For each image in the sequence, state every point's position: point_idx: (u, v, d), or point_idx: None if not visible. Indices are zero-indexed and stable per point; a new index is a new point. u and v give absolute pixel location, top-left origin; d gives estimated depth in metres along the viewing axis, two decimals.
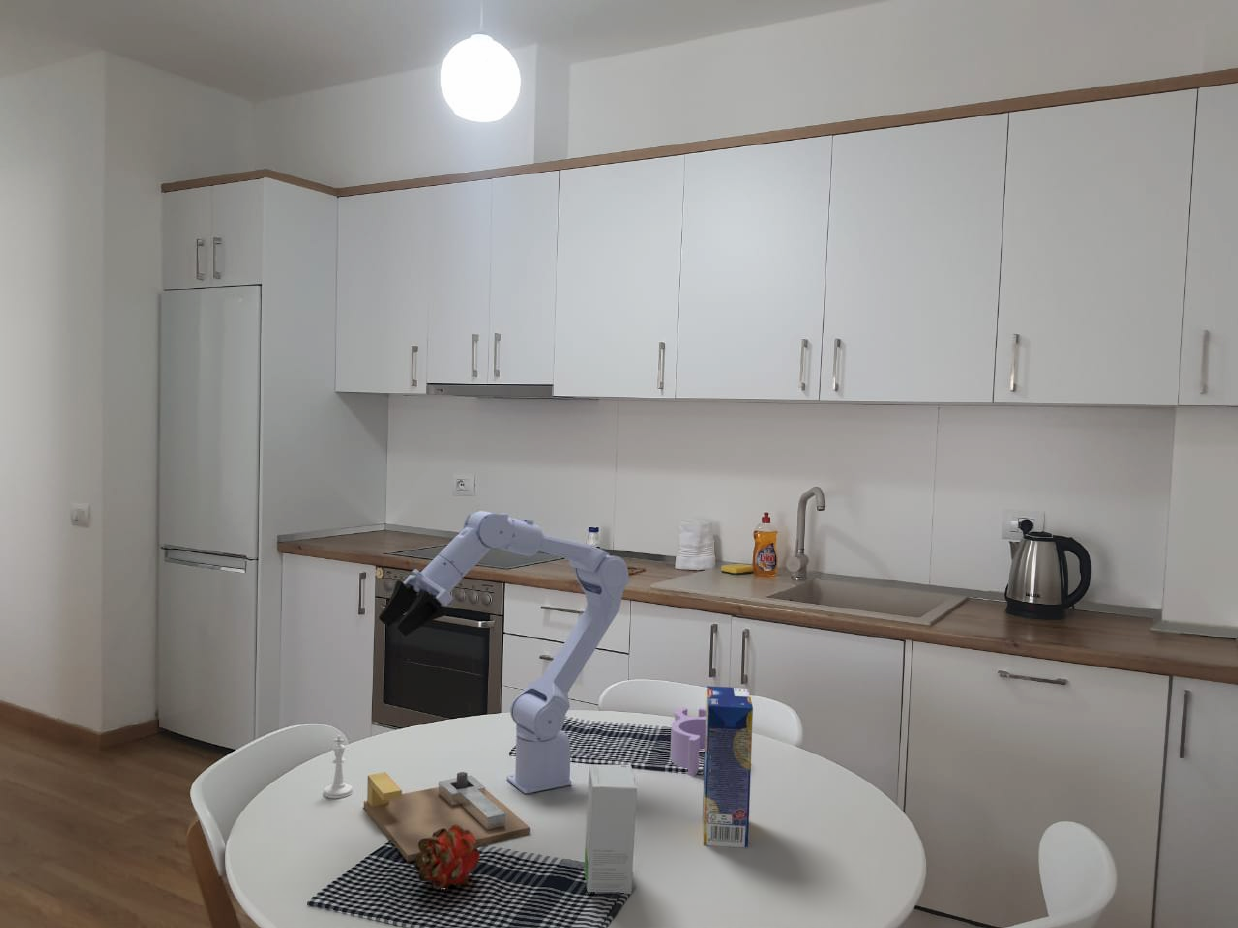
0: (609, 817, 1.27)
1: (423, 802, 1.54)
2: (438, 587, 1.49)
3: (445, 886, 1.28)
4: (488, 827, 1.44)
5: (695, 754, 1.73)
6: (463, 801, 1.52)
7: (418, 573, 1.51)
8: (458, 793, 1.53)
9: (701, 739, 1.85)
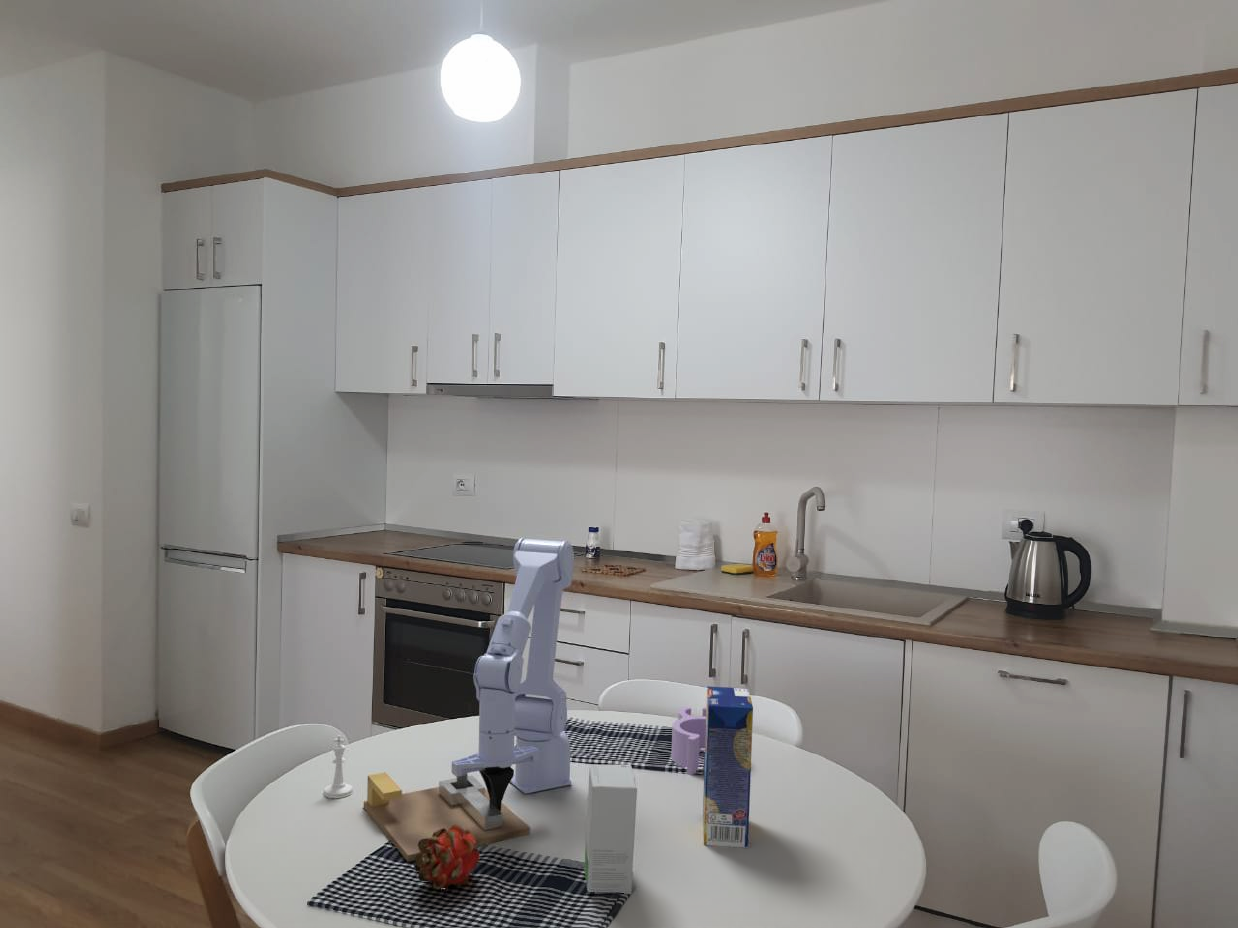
0: (609, 817, 1.27)
1: (423, 802, 1.54)
2: (529, 753, 1.51)
3: (445, 886, 1.28)
4: (485, 827, 1.44)
5: (694, 753, 1.73)
6: (462, 801, 1.52)
7: (511, 763, 1.46)
8: (457, 793, 1.53)
9: (703, 738, 1.85)
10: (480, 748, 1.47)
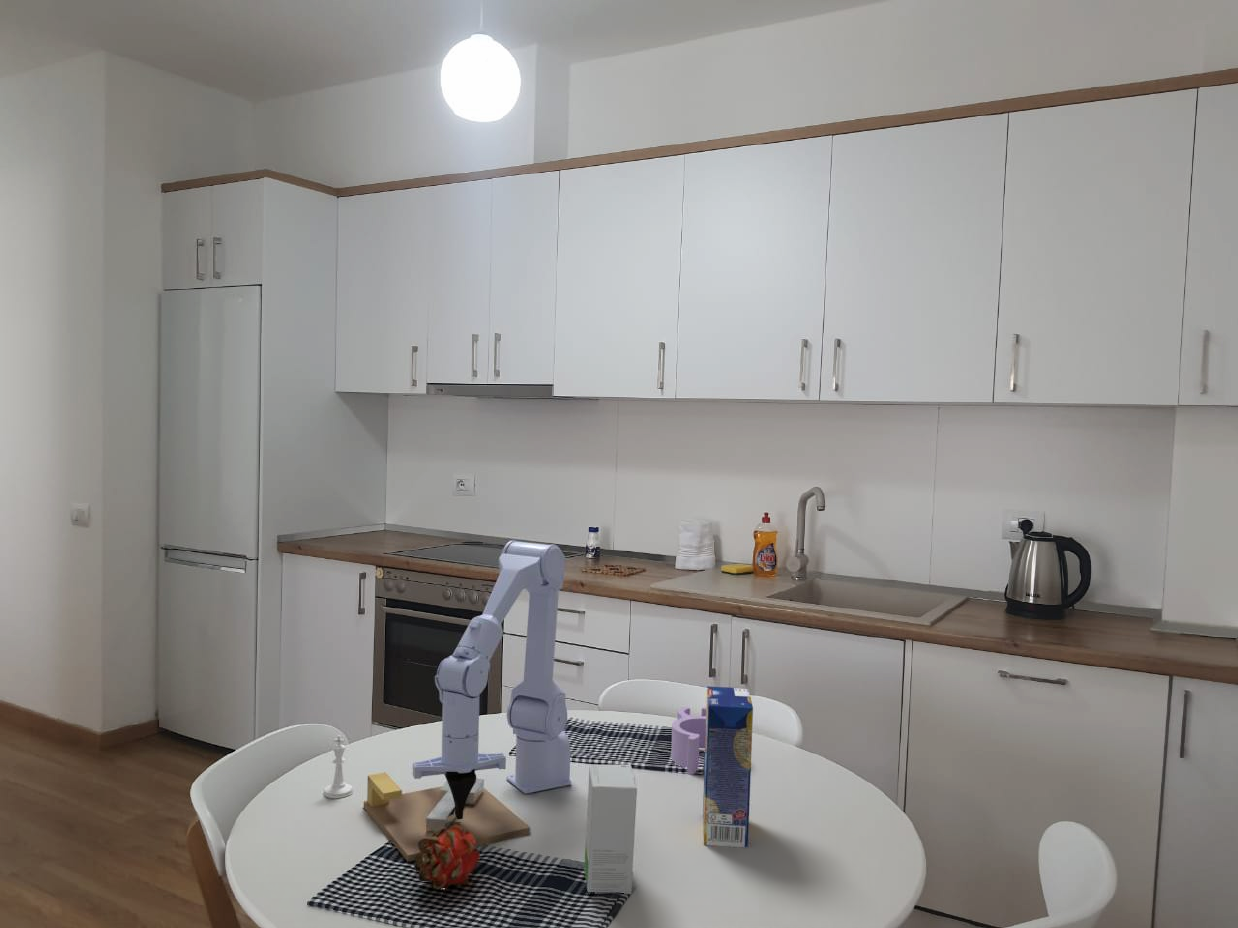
0: (608, 817, 1.27)
1: (423, 802, 1.54)
2: (494, 760, 1.47)
3: (445, 886, 1.28)
4: (427, 828, 1.43)
5: (694, 753, 1.73)
6: None
7: (471, 769, 1.44)
8: (446, 791, 1.54)
9: (703, 738, 1.85)
10: (442, 751, 1.45)
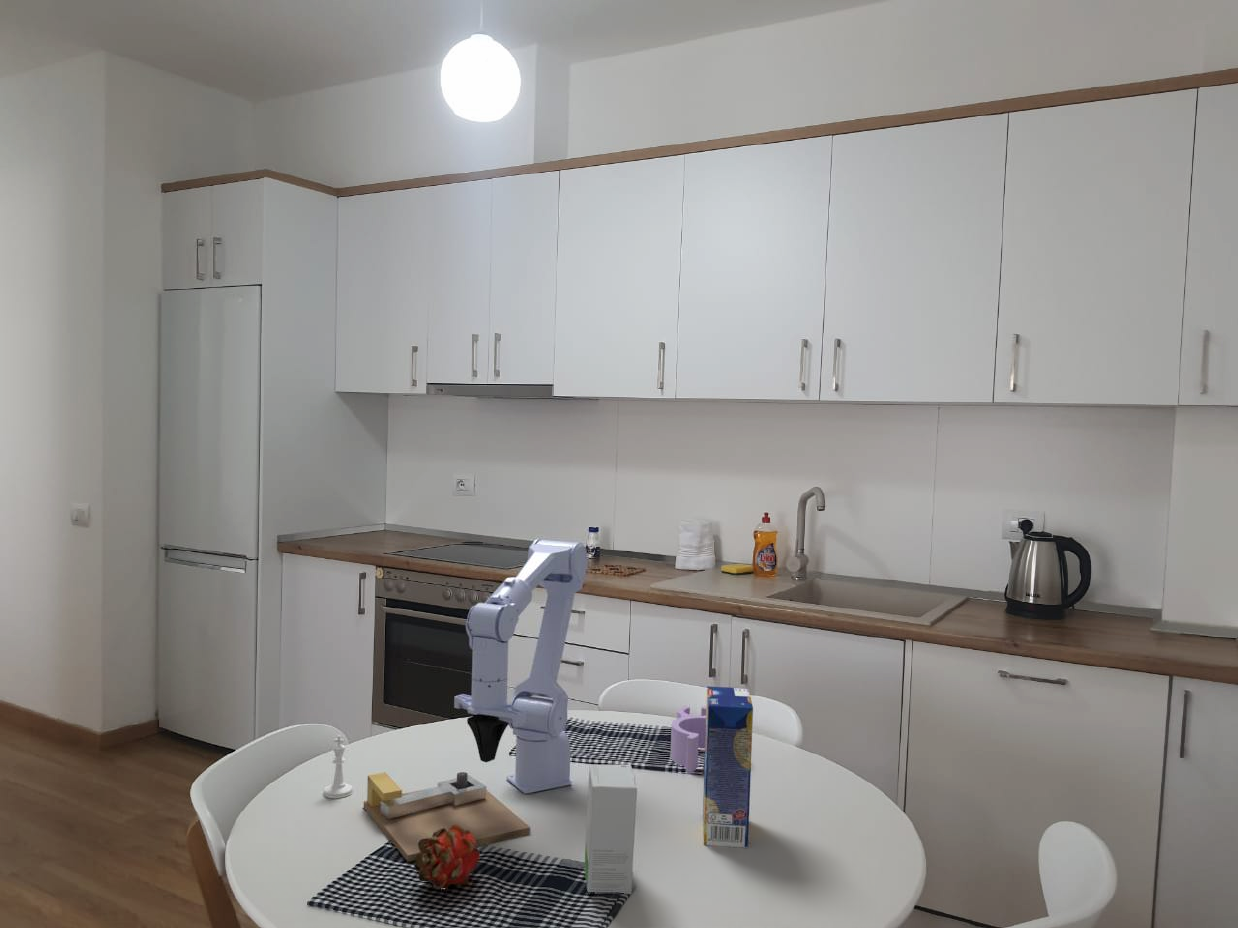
0: (609, 817, 1.27)
1: None
2: (506, 714, 1.46)
3: (445, 886, 1.28)
4: (381, 811, 1.49)
5: (693, 752, 1.74)
6: None
7: (476, 712, 1.47)
8: (441, 785, 1.56)
9: (702, 737, 1.86)
10: None
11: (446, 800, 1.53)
